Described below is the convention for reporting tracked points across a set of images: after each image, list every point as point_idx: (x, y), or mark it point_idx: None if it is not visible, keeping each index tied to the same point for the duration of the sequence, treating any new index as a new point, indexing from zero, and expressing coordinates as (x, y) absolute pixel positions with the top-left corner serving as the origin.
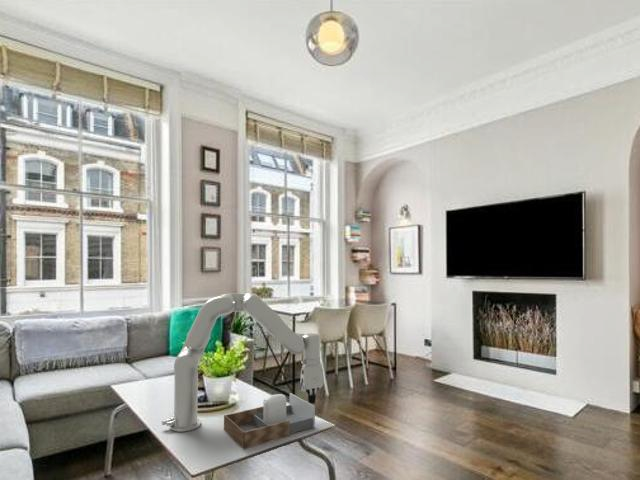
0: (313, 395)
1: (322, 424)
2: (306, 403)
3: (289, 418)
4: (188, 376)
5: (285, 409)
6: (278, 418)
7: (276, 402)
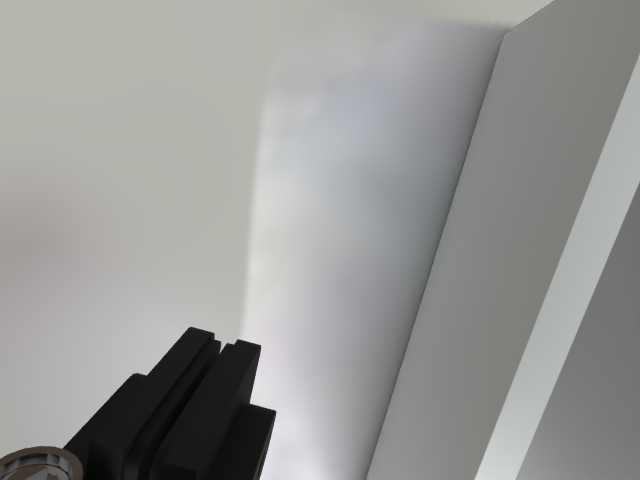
0: (148, 454)
1: (323, 57)
2: (560, 331)
3: (543, 441)
4: None
5: None
6: None
7: None
